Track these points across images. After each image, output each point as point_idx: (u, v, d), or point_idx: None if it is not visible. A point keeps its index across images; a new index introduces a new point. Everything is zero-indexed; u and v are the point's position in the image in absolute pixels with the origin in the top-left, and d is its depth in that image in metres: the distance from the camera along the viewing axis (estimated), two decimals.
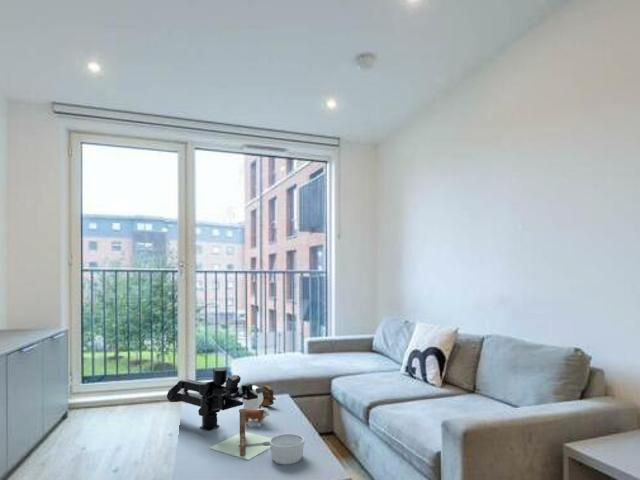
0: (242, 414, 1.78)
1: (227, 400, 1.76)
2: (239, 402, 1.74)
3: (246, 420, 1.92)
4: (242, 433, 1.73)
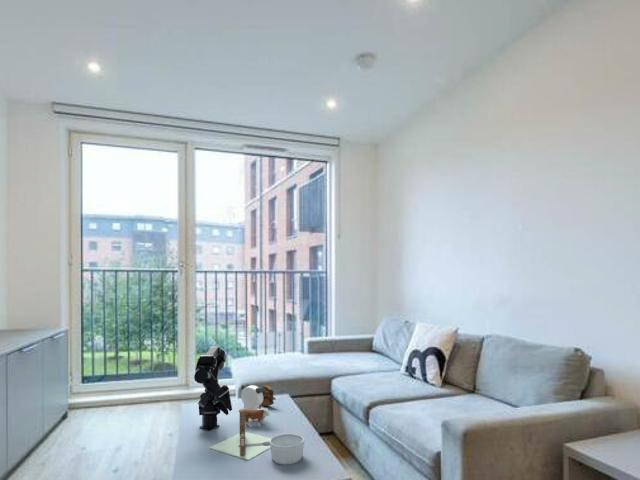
0: (242, 414, 1.78)
1: None
2: None
3: (246, 420, 1.92)
4: (242, 433, 1.73)
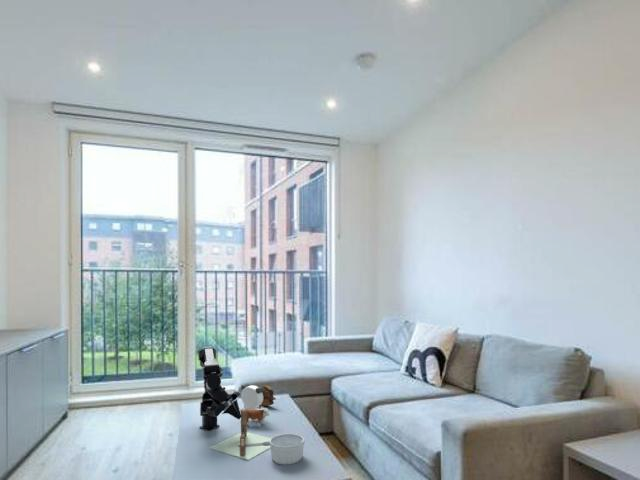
0: (243, 414, 1.78)
1: None
2: None
3: None
4: (243, 433, 1.73)
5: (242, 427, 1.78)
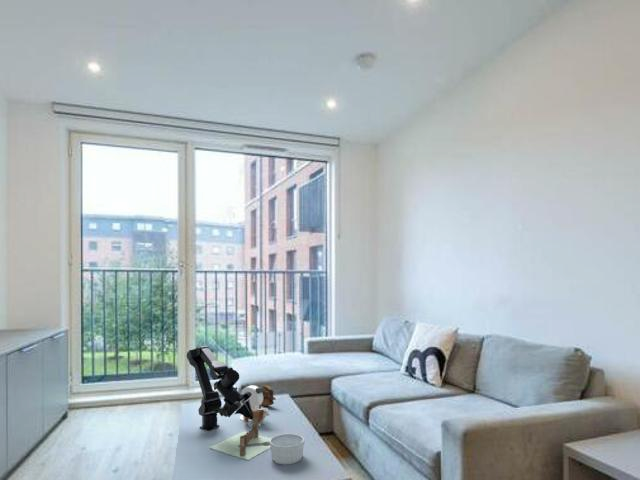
0: (254, 414, 1.78)
1: None
2: None
3: (246, 420, 1.92)
4: (247, 433, 1.73)
5: (253, 427, 1.78)
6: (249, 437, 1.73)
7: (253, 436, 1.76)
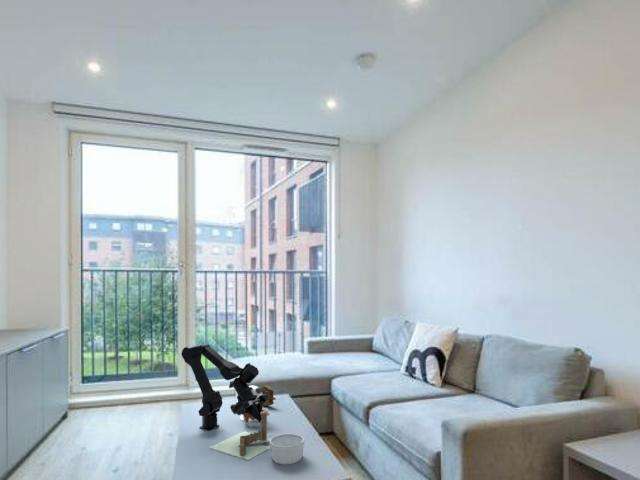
0: (261, 416, 1.75)
1: None
2: None
3: (246, 420, 1.92)
4: (250, 434, 1.71)
5: (261, 429, 1.75)
6: (252, 438, 1.71)
7: (259, 438, 1.73)
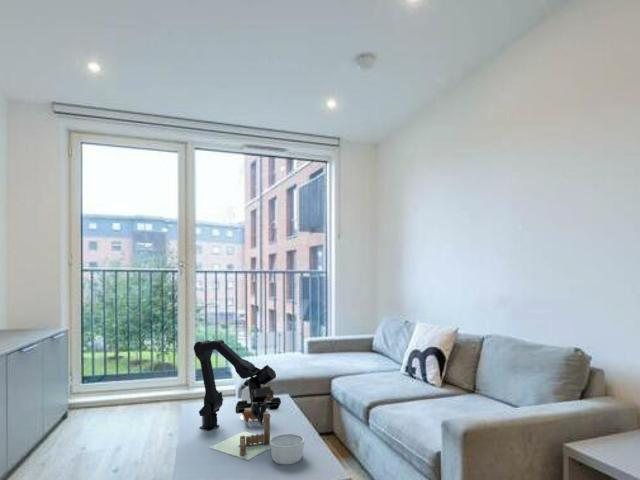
0: (264, 419, 1.72)
1: (254, 409, 1.75)
2: (260, 420, 1.72)
3: (246, 420, 1.92)
4: (251, 435, 1.70)
5: None
6: (253, 440, 1.70)
7: (261, 441, 1.71)
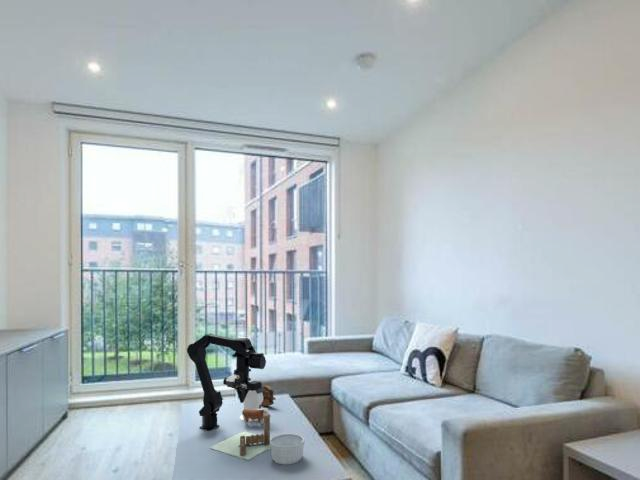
0: (264, 419, 1.72)
1: None
2: None
3: (246, 420, 1.92)
4: (251, 435, 1.70)
5: None
6: (253, 440, 1.70)
7: (261, 441, 1.71)
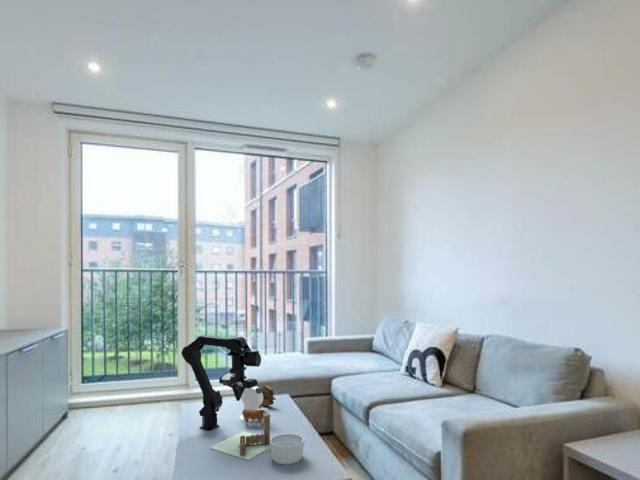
0: (264, 419, 1.72)
1: None
2: None
3: (246, 420, 1.92)
4: (251, 435, 1.70)
5: None
6: (253, 440, 1.70)
7: (261, 441, 1.71)
